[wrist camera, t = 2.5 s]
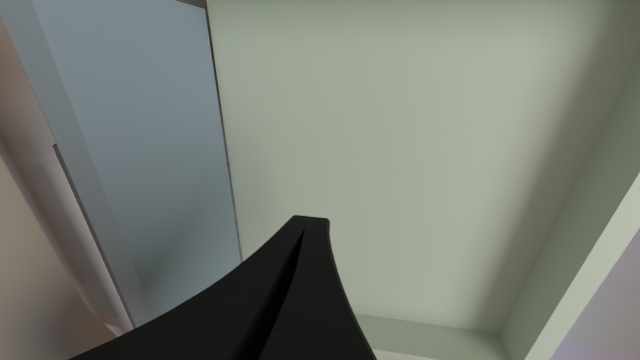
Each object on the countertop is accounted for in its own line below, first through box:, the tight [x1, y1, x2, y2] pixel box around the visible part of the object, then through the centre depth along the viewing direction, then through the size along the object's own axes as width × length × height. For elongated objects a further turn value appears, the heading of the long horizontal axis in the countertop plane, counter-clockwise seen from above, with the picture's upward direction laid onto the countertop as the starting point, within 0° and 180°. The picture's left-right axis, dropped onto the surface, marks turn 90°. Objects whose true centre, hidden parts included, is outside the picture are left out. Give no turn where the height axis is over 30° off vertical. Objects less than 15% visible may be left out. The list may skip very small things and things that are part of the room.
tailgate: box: [0, 0, 241, 329], centre depth 11 cm, size 15×2×6 cm, turn 179°
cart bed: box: [206, 0, 640, 360], centre depth 12 cm, size 18×16×4 cm
